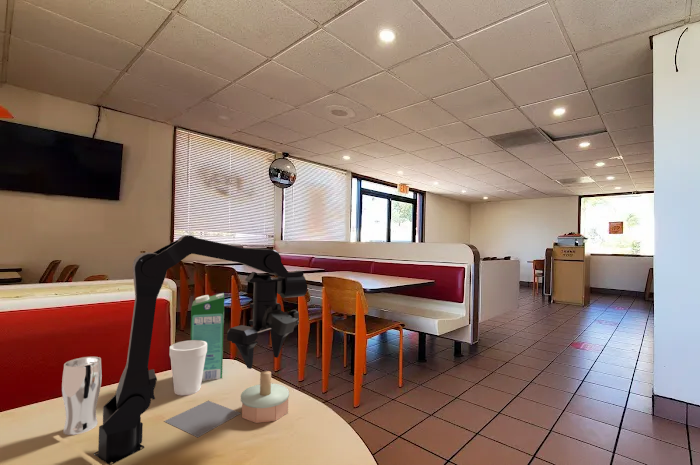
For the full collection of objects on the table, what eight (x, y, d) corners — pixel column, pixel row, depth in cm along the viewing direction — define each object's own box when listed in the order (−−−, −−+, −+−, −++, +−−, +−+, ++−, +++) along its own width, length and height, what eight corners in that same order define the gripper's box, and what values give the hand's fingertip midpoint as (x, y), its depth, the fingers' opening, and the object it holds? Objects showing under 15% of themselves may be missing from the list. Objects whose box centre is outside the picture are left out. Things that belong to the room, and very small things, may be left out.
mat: (197, 439, 74) (197, 437, 74) (163, 423, 80) (163, 421, 80) (241, 415, 84) (241, 413, 84) (208, 402, 90) (208, 400, 90)
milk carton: (191, 372, 110) (193, 293, 110) (221, 369, 113) (224, 292, 113) (189, 383, 101) (191, 298, 102) (222, 380, 104) (224, 297, 105)
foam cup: (212, 386, 100) (213, 341, 100) (194, 401, 91) (196, 351, 91) (180, 384, 101) (182, 339, 101) (160, 398, 92) (162, 349, 92)
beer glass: (106, 427, 78) (108, 360, 78) (68, 442, 72) (71, 369, 72) (91, 418, 81) (93, 354, 82) (54, 432, 75) (56, 363, 76)
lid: (266, 412, 78) (266, 386, 78) (230, 399, 84) (230, 375, 84) (298, 393, 88) (299, 370, 88) (264, 383, 94) (264, 361, 94)
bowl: (265, 429, 78) (266, 411, 78) (232, 416, 84) (232, 399, 84) (296, 409, 88) (296, 393, 88) (264, 398, 93) (264, 383, 93)
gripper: (262, 309, 74) (260, 383, 74) (313, 297, 90) (312, 358, 90) (226, 303, 80) (224, 372, 79) (281, 293, 96) (279, 350, 95)
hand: (263, 362), depth 86 cm, fingers open, 9 cm apart
